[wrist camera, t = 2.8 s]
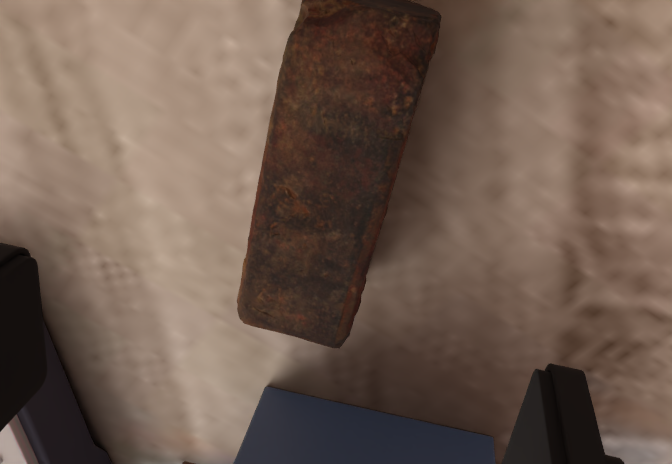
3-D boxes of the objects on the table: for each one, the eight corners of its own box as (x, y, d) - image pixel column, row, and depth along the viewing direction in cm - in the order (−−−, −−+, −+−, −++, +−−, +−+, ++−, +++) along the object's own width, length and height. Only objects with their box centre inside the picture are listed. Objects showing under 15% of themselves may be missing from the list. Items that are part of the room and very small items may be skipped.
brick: (364, 285, 25) (345, 358, 21) (266, 256, 25) (229, 324, 21) (446, 5, 20) (443, 28, 16) (324, -27, 20) (289, -13, 16)
